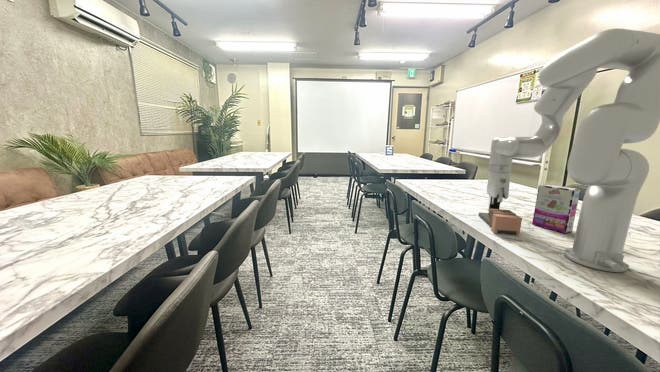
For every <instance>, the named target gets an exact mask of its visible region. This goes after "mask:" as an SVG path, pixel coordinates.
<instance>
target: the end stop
mask: <svg viewBox="0 0 660 372" xmlns="http://www.w3.org/2000/svg"><path fill="white" fill-rule="evenodd" d="M522 221H523V218H522V217H521V216H520V215H516V216H515V215H503V214H493V220H492V227H490V231H491V232H492V233H493V234H495V235H496V234H497V232H498V231H497V230H499V233H500V230H506V231H502V232H503V233H502V232H501V233H500V234H499V233H498V235H506V232H507V231H508V232H509V231H510V232H511V233H512V231H513V233H514V231H517V232H516V233H514V235H513V236H515V237H516V236H518V237H519V236H520V235H521V234H520V233H521V228H522ZM504 232H505V233H504ZM511 233H508V236H512V235H511ZM513 233H512V234H513ZM509 234H510V235H509ZM515 234H516V235H515Z"/></svg>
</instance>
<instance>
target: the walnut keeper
mask: <svg viewBox="0 0 660 372" xmlns="http://www.w3.org/2000/svg"><path fill="white" fill-rule="evenodd" d="M488 211H489V212H487V213H488V220H487V221H488V222H489V223H490V224H492V220H493V214H503V215H515V216H517V214H516V213H515V212H513V211H512V210H510V209H501V208H499V209H489V208H488Z"/></svg>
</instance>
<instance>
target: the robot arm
mask: <svg viewBox="0 0 660 372" xmlns="http://www.w3.org/2000/svg"><path fill="white" fill-rule="evenodd" d="M598 69H606V70H607V69H610V70H621V71H628V74H627V75H626V76H625V77H624V79H623V80H622V81H621V83H620V85H619V86H618V89H617V92H616V95H615V98H614V101H613V103H606V104H605V103H604V104H601V105H599V106H597V107H594V108H593V109H591V110H590V111H589V112H587V113H586V114H585V115H584V117H583V118H582V119H581V122H580V123H579V124H578V127H577V130H576V133H575V137H574V140H573V144H572V147H571V150H570V154H569V157H568V160H567V164H566V165H567V166H566V167H567V168H566V169H567V175H568V176H569V178H570V179H571V180H572V181H573V182H575V183H576V184H579V185H581V186H588V187H587V188H586V190H585V193H584V195H583V199H582V203H581V207H580V211H579V216H578V221H577V226H576V231H575V233H574V234H575V235H574V240H573V244H572V247H569V248H566V249H564V251H563V255H564V256H565V257H566V258H567V259H568V260H570V261H572V262H574V263H576V264H579V265H581V266H584V267H588V268H590V269H595V270H598V271H604V272H610V273H624V272H627V271H628V270H629V268H630V265H629V264H628V263H627V262H625V261H624V259H625V255H624V254H623V251H624V248H625V245H626V240H627V237H628V233H629V229H630V226H631V221H632V218H633V214H634V211H635V206H636V203H637V200H638V197H639V195H640V191H641V190H642V188H643V186H644V184H645V182H646V180H647V178H648V176H649V175H648V174H649V171H650V164H649V161H648V159H647V158H646V156H644V155H643V154H642V153H640V152H638V151H636V150H633V149H628V148H623V147H622V146H623V144H624V145H625V144H635V143H636V144H637V143H640V142H644V141H646V140H649V138H651V137H652V136H653V135H654V134H655V133H656V131H657V129H658V128H659V125H660V34H659V33H654V32H650V31H649V32H648V31H643V30H634V29H627V28H610V29H606V30H603V31H600V32H598V33H596V34H593V35H592V36H590V37H588V38H585V40H582V41H580V42H578V43H577V44H575V45H573V46H571V47H569V48H567V49H565V50H564V51H562V52H560V53H558V54H557V55H556V56H554V57H552V58H551V59H550V60H549V61H547V62H546V64H544V65H543V67H542V68H541V70H540V71H539V75H538V81H539V84H540V85H541V86H543V87H544V88H545V90H544V92H543V93H542V94H541V96H540V97H539V99H538V100H537V101H536V103H535V104H534V107H533V110H534V111H535V112H536V113H537V114H538V115H540V116H541V124H540V126H539V128H538V129H537V131H535V133H534V135H532V136H511V137H505V136H504V137H501V136H500V137H494V138H493V139H492V141H491V145H490V154H489V160H488V161H489V162H488V167H487V169H488V170H487V172H488V173H489V175H488V179H487V185H486V194H487V195H489V196H488V197H489V205H488V212H487V213H489V209H500V206H501V203H503V199H504V200H507V199H508V198H509V196H510V195H509V193H510V181H511V180H510V174H511V171H512V165H513V158H514V159H515V158H516V159H522V158H524V159H525V158H526V159H528V158H529V159H530V158H531V159H534V158H538V157H540V156H542V155H543V154H545V153H546V152H547V151H548V150H549V149H550V148H551V147H552V146H553V145H554V143H555V142H556V141H557V139H558V138H559V136H560V134H561V131H562V128H563V127H562V126H563V119H564V116H565V115H566V113H568V111H569V110H570V108H571V107H572V106H573V105H574V103H575V102H576V101H577V99H579V97H580V96H581V95H582V94H583V92H584V91H585V90H586V88H588V87H589V85H590V83H591V82H592V81H593V80H594V78H595V77H596V76H597V73H598Z"/></svg>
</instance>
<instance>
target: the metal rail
mask: <svg viewBox="0 0 660 372" xmlns="http://www.w3.org/2000/svg"><path fill="white" fill-rule="evenodd" d="M488 213H489V212H478V217H479V218H480V219H482V221H483V222H484V223H486V224H487V226H488V227H490V228H491V227H492V224H490V223H489V222H488V221H487V220H488ZM497 231H498V232H497V234H498V233H499V230H497ZM502 231H506V230H500V233H501V232H502ZM516 232H517V231H514V233H516ZM500 233H499V234H498V235H501V234H500ZM502 233H503V232H502ZM504 233H505V232H504ZM508 233H511V232H510V231H509V232H508V231H507V232H506V234H505V235H508ZM512 233H513V231H512ZM512 233H511V235H510V234H509V235H508V236H516V234H515V235H514V233H513V234H512Z"/></svg>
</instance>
